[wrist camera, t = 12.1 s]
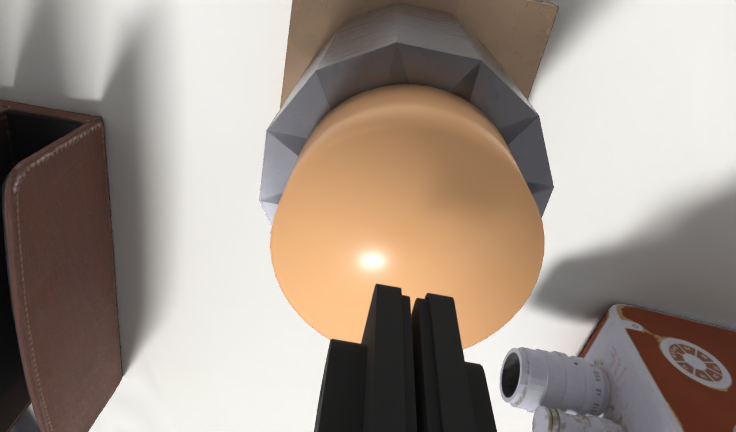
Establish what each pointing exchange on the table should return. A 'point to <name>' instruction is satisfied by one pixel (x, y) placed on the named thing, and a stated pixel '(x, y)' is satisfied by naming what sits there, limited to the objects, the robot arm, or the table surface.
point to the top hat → (412, 71)
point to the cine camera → (630, 377)
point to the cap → (406, 214)
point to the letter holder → (55, 270)
